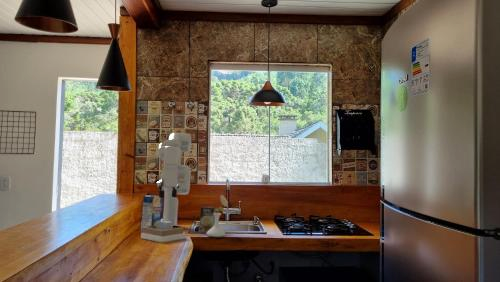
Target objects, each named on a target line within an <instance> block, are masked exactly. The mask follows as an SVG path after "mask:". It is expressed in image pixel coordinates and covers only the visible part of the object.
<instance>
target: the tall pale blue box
mask: <svg viewBox="0 0 500 282" xmlns="http://www.w3.org/2000/svg"><path fill="white" fill-rule="evenodd" d="M156 229H159V230H168V229H174V227H173V222H170V221H164V220H162V221H156Z"/></svg>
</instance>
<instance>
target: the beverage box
mask: <svg viewBox="0 0 500 282" xmlns="http://www.w3.org/2000/svg"><path fill="white" fill-rule="evenodd" d="M163 205H164V198H160V197H159V195H155V194H154V195H143V199H142V213H141V223H140V235H141V232H142V227H146V226H155V225H156V221H161V219H162V217H163V213H162V212H163Z"/></svg>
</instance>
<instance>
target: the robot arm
mask: <svg viewBox="0 0 500 282" xmlns="http://www.w3.org/2000/svg"><path fill="white" fill-rule="evenodd" d="M191 148H192V137H191V135H190V134H189V133H185V132H184V133H182V132H172V133H171V134H169V137H168V139H167V140H163V141H162V142H160V143H159V145H158V147H157V157H158V158H159V159H162V160H163V167H162V170H161V173H160V177H159V181H157V182H156V185H157V189H158V191H159V194H158V196H159V197H160V198H163V213H162V218H161V221H162V220H164V221H170V222H173V226H178V225H177V224H178V212H179V199H178V197H177V195H188V194H189V193H190V188H191V175H192V173H191V172H192V171H191V167H190V165H184V164H181V162H182V155H183V153H189V152H190V151H191ZM179 179H180V180H179ZM178 227H179V226H178Z"/></svg>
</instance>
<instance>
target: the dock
mask: <svg viewBox="0 0 500 282" xmlns="http://www.w3.org/2000/svg"><path fill="white" fill-rule="evenodd" d="M184 229H185V228H184V227H174V228H173V229H168V230H159V229H156V225H155V226H146V227H142V232H141V231H140V233H141V234H140V238H141V239H142V240H143V239H144V240H150V241H153V242H158V243H164V242H172V241H177V240H182V239H183V240H184V239H186V232H184Z"/></svg>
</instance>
